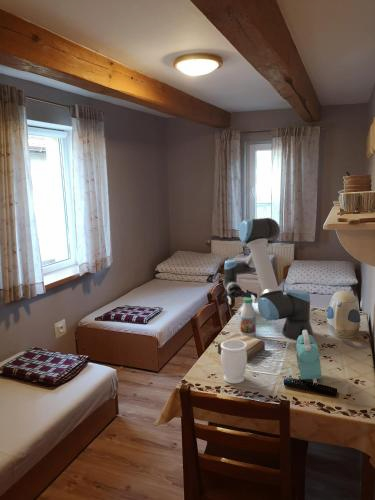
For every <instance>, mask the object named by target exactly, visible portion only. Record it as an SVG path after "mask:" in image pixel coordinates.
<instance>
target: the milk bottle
mask: <svg viewBox="0 0 375 500" xmlns="http://www.w3.org/2000/svg"><path fill="white" fill-rule="evenodd" d="M253 303H254V302H253V300H252V298H247V297H243V305H242V309H241V311H240V334H241V335H245V336H249V337H253V338H256V334H257V331H256V329H257V327H256V326H257V325H256V323H257V322H256V321H257V320H256V310H255V309H254V307H253Z"/></svg>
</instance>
